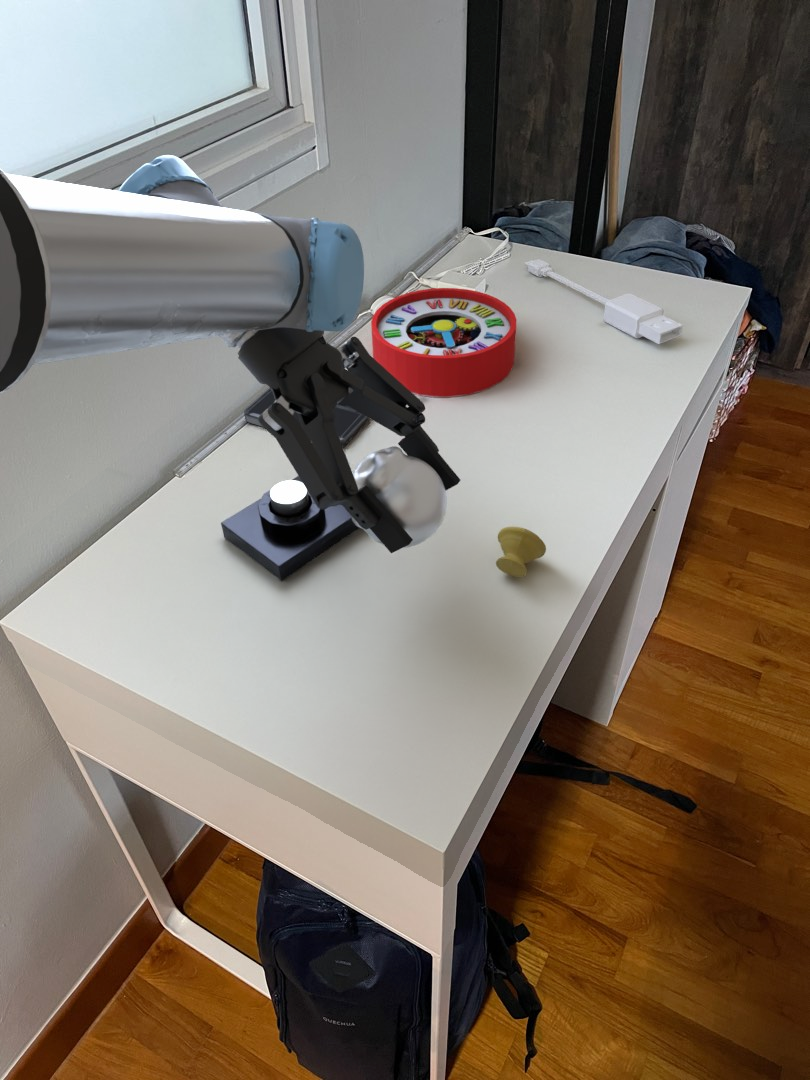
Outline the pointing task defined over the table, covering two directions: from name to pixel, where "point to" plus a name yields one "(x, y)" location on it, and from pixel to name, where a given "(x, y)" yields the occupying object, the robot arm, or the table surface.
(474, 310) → the toy clock
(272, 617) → the table surface
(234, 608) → the table surface
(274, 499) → the stove button
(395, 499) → the ghost figurine
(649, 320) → the charging cable
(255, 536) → the panel
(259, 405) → the phone
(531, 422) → the table surface
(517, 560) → the knob
